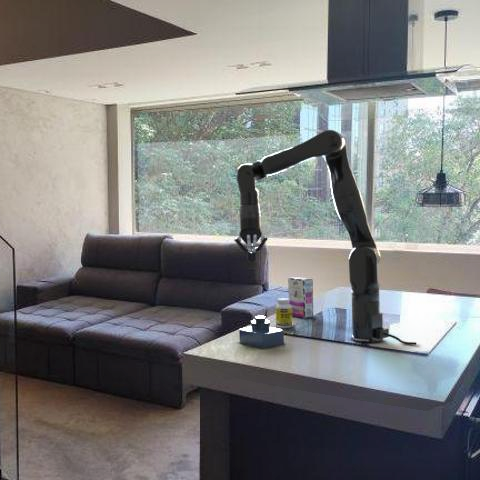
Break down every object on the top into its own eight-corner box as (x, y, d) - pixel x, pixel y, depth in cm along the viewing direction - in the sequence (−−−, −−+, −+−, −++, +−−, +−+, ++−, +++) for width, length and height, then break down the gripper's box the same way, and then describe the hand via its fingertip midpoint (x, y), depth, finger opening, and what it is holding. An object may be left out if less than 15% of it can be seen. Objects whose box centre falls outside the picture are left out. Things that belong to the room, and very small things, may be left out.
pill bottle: (280, 329, 231) (279, 300, 230) (273, 326, 237) (272, 298, 236) (295, 327, 232) (294, 299, 232) (287, 324, 238) (286, 297, 238)
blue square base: (285, 343, 207) (285, 323, 207) (262, 349, 201) (262, 328, 201) (261, 337, 217) (260, 319, 217) (239, 342, 212) (238, 323, 211)
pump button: (267, 322, 212) (267, 317, 212) (260, 324, 210) (259, 318, 210) (260, 321, 215) (260, 315, 215) (253, 322, 213) (253, 317, 213)
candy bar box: (314, 317, 250) (313, 278, 249) (304, 318, 248) (303, 279, 246) (297, 313, 260) (296, 276, 259) (288, 314, 258) (287, 277, 257)
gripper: (234, 217, 220) (236, 264, 221) (269, 216, 221) (271, 262, 222) (230, 217, 228) (232, 262, 229) (265, 215, 228) (266, 260, 229)
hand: (251, 262), depth 225 cm, fingers closed
